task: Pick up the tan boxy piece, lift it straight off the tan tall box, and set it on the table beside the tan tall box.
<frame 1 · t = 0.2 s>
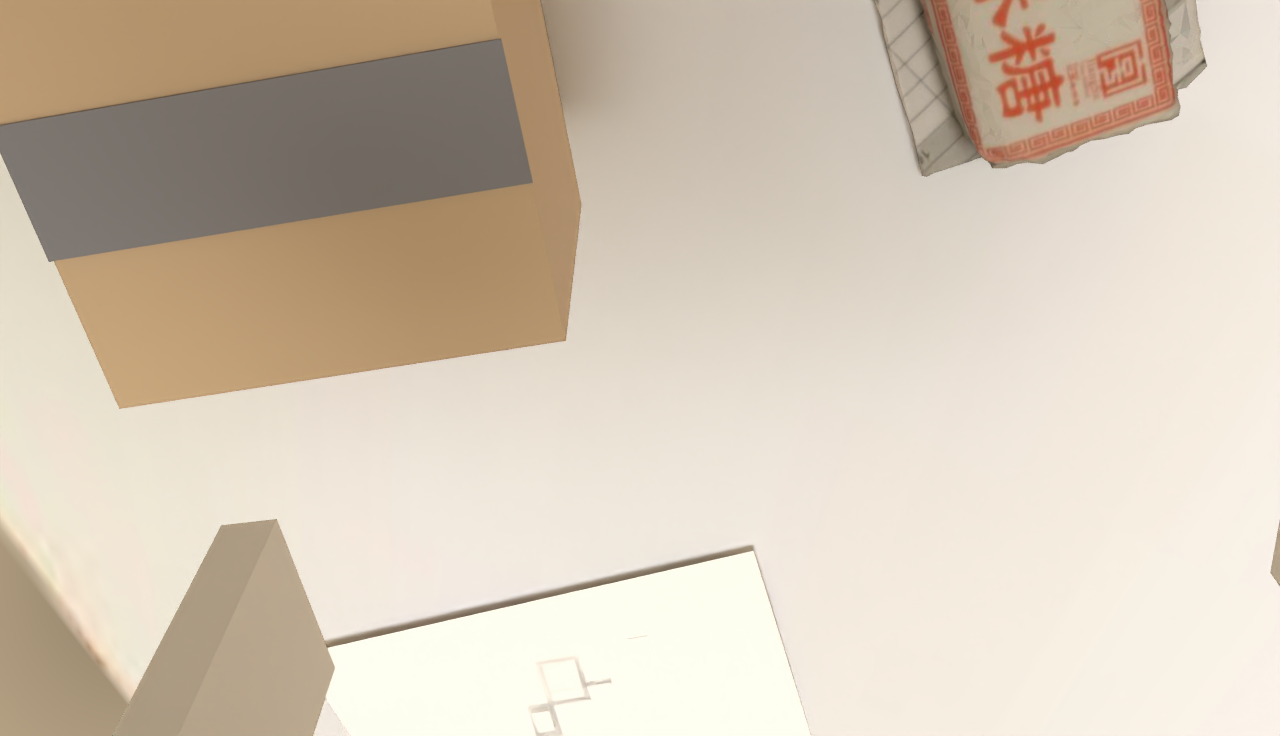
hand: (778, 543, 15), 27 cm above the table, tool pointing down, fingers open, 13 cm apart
tan boxy piece: (358, 56, 31), point 7 cm above the table, touching tan tall box
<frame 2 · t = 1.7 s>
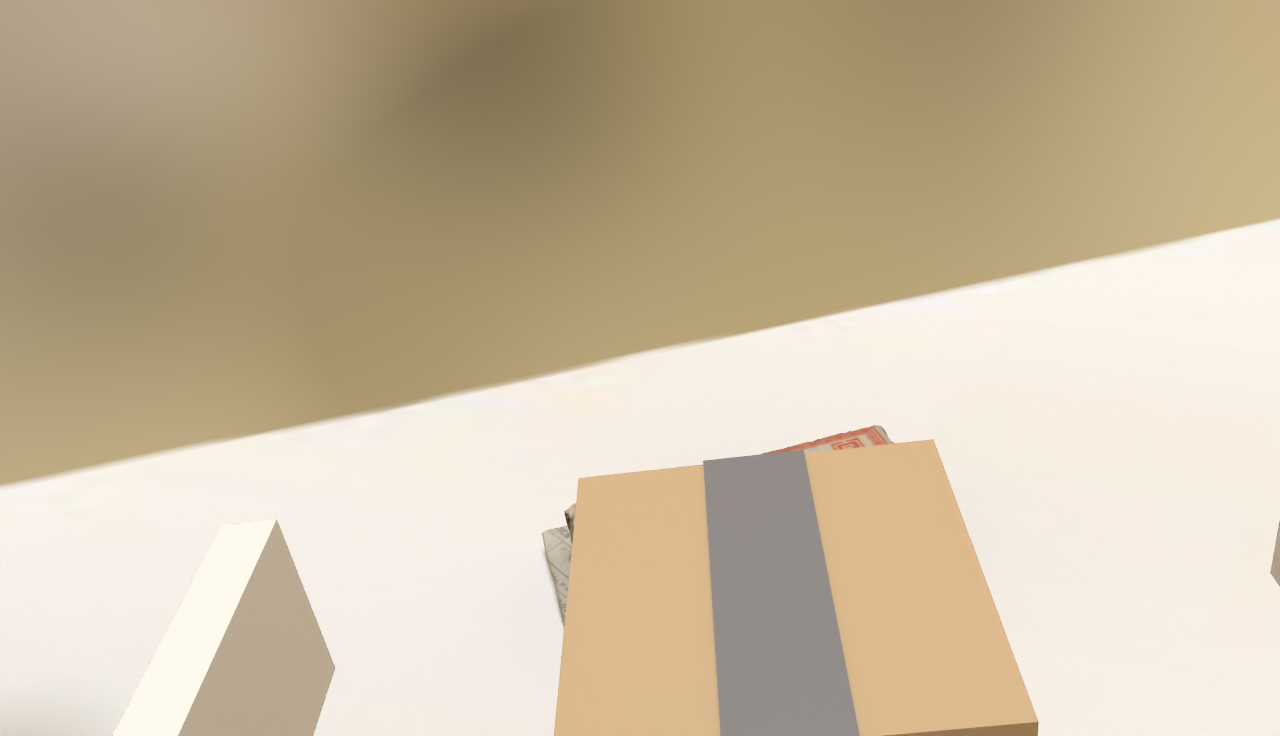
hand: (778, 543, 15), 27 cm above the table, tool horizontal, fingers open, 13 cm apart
packaged product: (742, 573, 55), on the table
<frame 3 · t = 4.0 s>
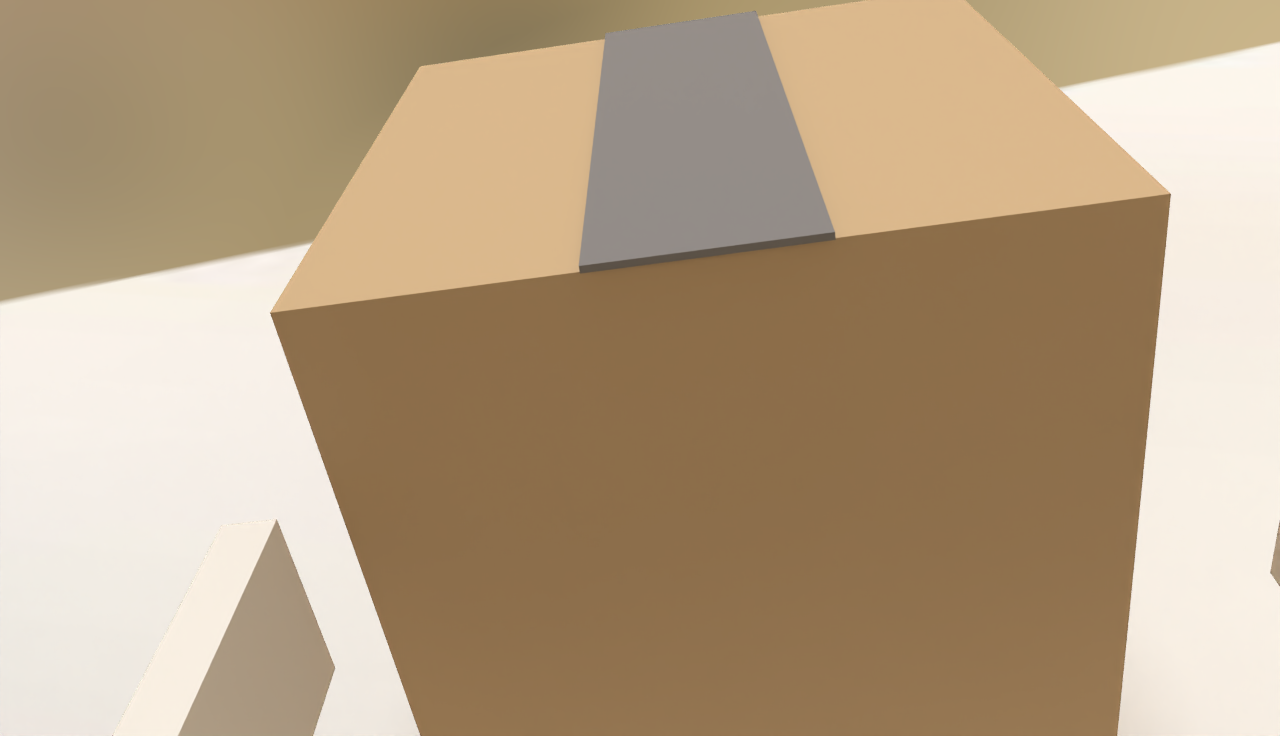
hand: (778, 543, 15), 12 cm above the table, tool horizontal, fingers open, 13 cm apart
tan boxy piece: (746, 551, 22), point 7 cm above the table, touching tan tall box
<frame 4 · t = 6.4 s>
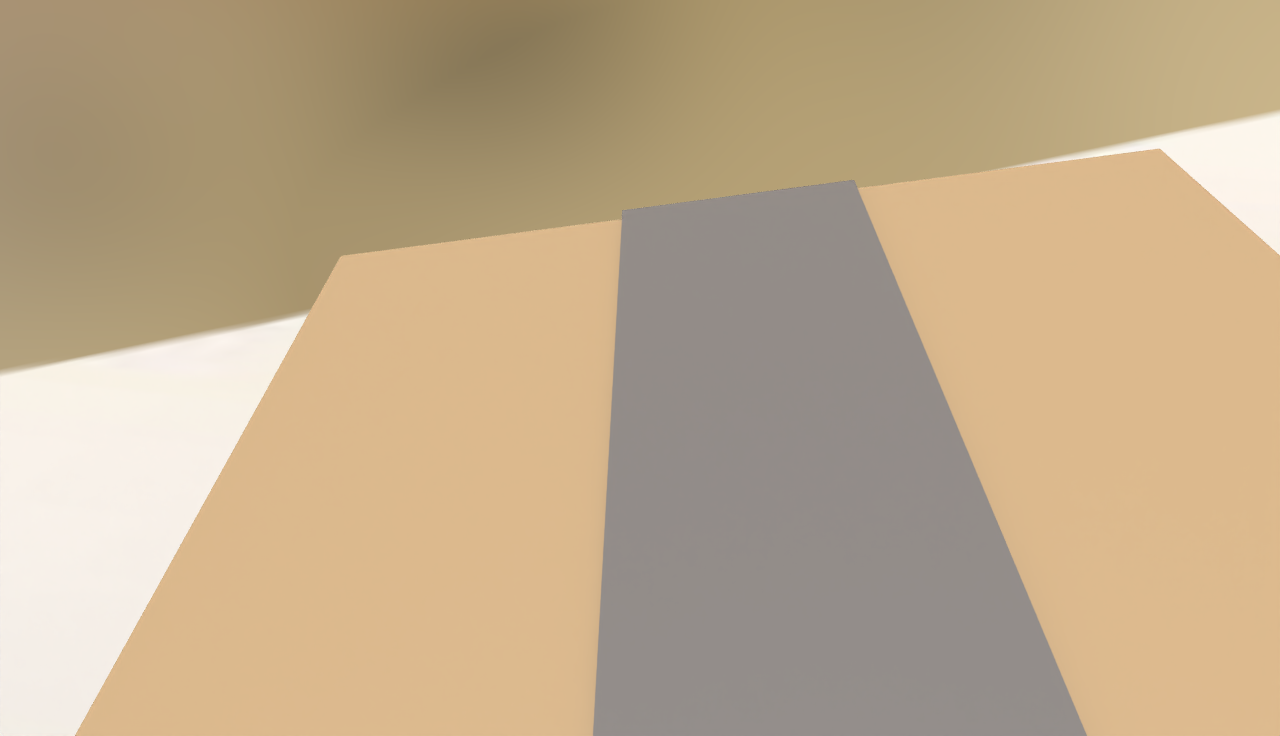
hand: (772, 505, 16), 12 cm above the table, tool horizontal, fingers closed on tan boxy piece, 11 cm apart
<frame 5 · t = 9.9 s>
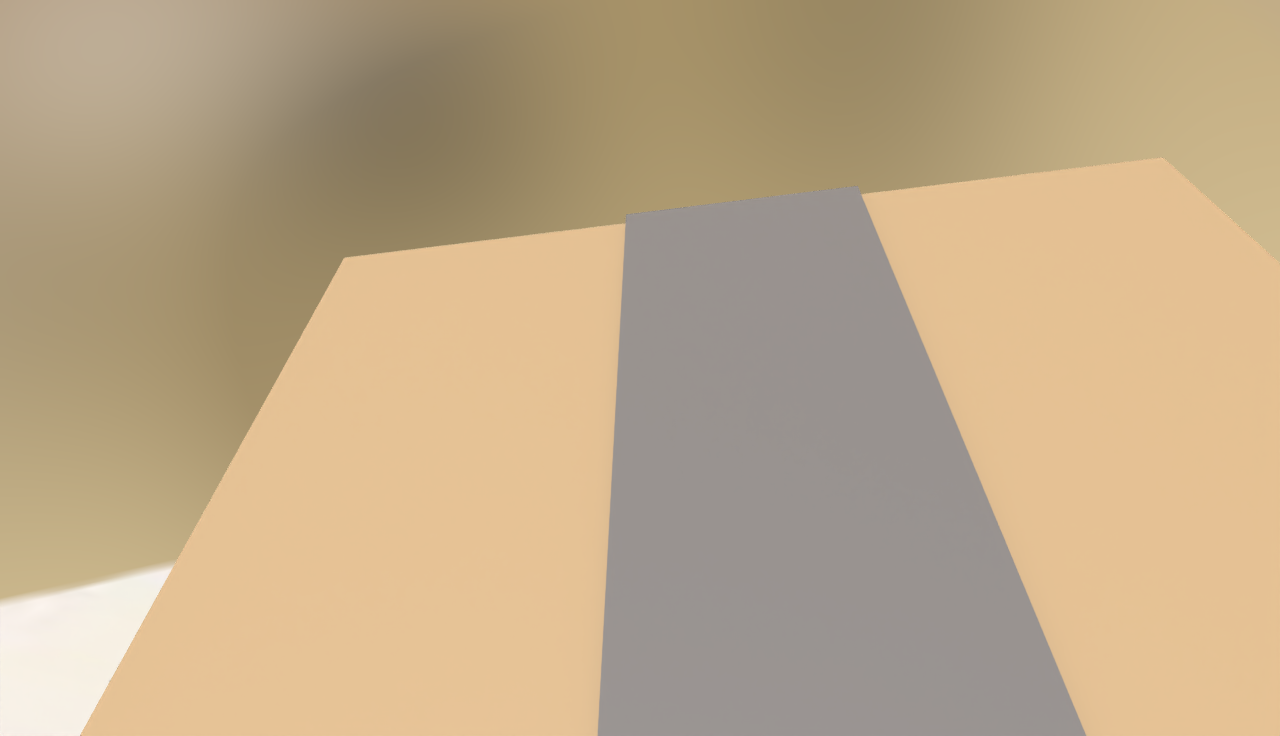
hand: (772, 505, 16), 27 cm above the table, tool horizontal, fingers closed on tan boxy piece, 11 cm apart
when the fingers open (6 cm above the table, at t = 13.4 s): tan boxy piece drops 1 cm, on the table.
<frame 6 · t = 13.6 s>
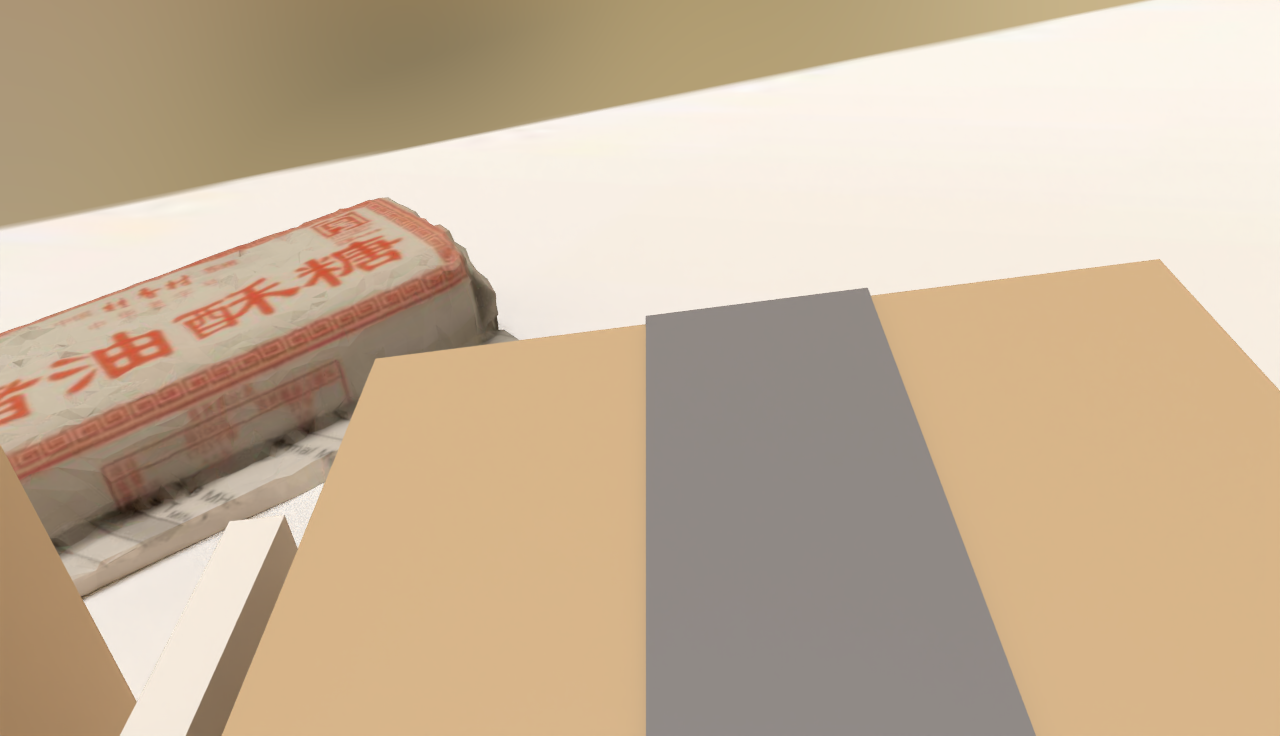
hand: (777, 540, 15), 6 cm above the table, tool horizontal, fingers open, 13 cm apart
packaged product: (203, 461, 33), on the table
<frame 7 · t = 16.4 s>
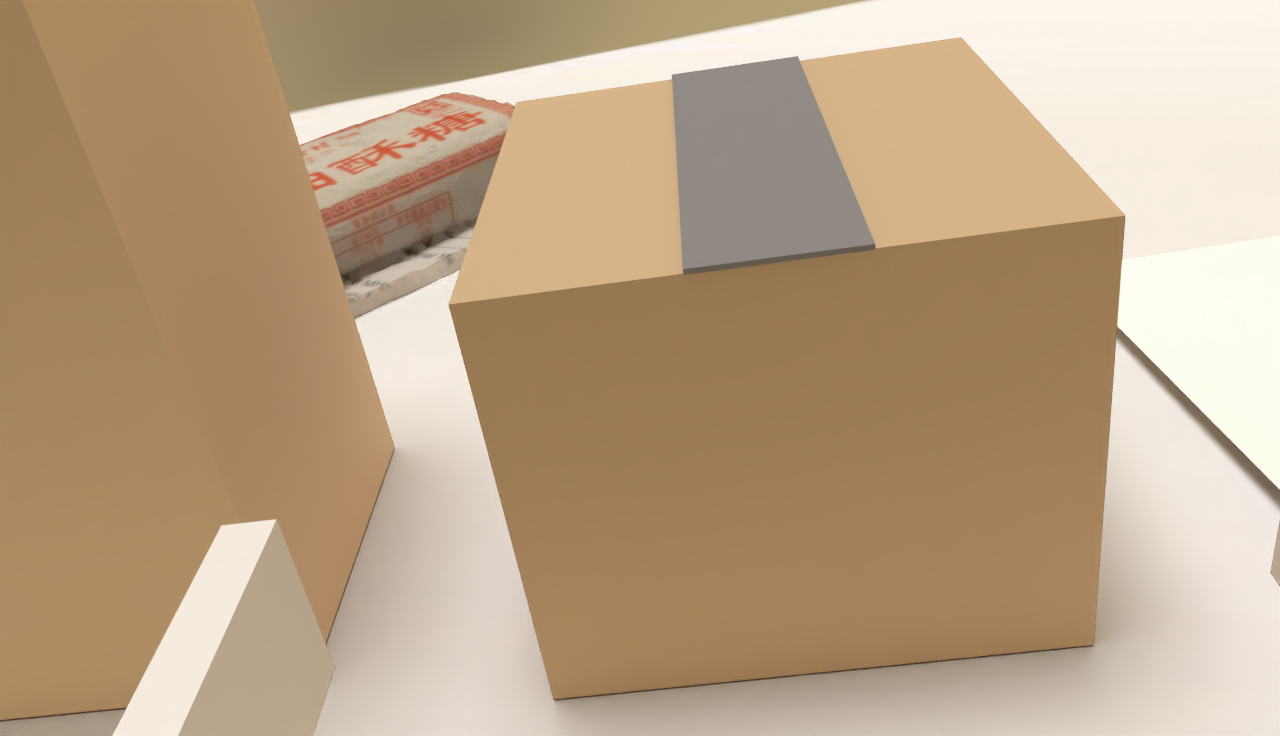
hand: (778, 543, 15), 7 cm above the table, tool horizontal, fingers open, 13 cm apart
packaged product: (339, 281, 44), on the table
tan tall box: (183, 570, 28), on the table
tan boxy piece: (789, 506, 27), on the table
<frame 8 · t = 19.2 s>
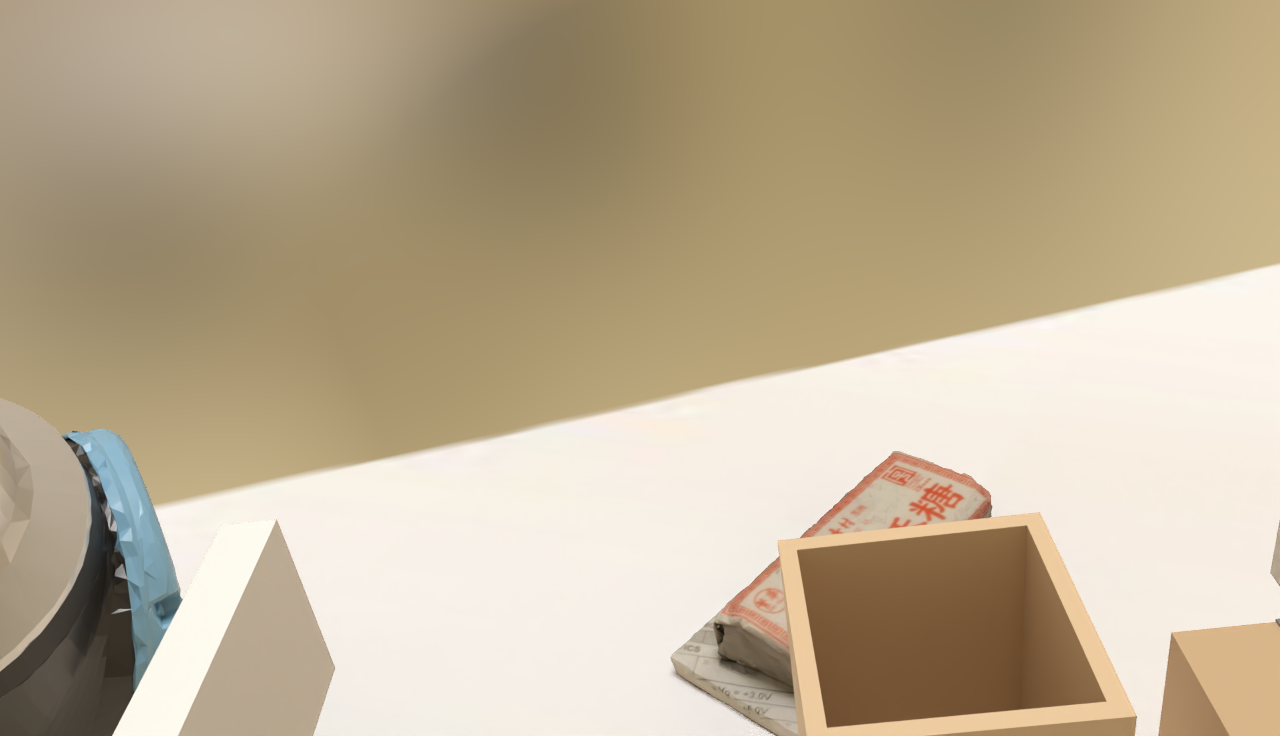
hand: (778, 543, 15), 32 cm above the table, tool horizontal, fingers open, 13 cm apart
packaged product: (856, 618, 59), on the table
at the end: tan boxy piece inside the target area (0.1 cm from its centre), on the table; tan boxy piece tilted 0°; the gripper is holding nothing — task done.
